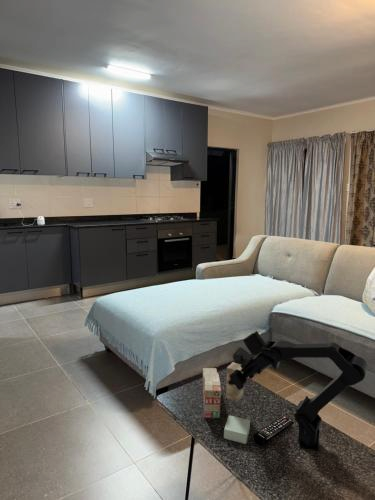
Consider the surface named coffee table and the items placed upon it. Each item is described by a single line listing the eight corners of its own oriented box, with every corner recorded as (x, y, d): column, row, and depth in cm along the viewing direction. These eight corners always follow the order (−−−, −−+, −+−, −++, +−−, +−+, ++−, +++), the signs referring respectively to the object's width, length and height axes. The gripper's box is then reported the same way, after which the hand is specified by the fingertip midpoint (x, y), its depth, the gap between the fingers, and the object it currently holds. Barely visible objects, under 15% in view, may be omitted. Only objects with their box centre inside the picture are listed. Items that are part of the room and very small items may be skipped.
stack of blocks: (202, 386, 155) (203, 361, 153) (216, 387, 155) (217, 361, 153) (204, 418, 134) (204, 389, 132) (220, 418, 134) (221, 390, 132)
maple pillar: (243, 395, 138) (244, 365, 135) (237, 402, 134) (238, 371, 131) (232, 391, 140) (232, 362, 138) (226, 397, 136) (226, 367, 134)
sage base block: (249, 429, 128) (250, 420, 128) (245, 444, 121) (246, 434, 120) (228, 424, 131) (228, 415, 130) (223, 438, 124) (224, 429, 123)
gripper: (256, 335, 138) (230, 353, 146) (235, 354, 123) (208, 372, 131) (274, 359, 135) (246, 376, 143) (254, 381, 120) (225, 398, 128)
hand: (232, 380), depth 136 cm, fingers closed on maple pillar, 5 cm apart
